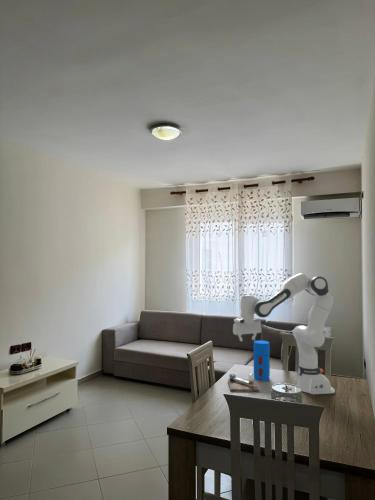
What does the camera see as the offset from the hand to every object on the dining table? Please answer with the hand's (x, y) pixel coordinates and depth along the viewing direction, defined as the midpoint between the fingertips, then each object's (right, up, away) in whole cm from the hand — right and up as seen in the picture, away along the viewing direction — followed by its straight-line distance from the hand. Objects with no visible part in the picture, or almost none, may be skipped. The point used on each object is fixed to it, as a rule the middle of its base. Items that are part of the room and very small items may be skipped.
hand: (247, 340), depth 230 cm
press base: (-4, -28, -6) cm, 29 cm away
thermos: (+12, -29, +10) cm, 33 cm away
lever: (-5, -26, -4) cm, 27 cm away
